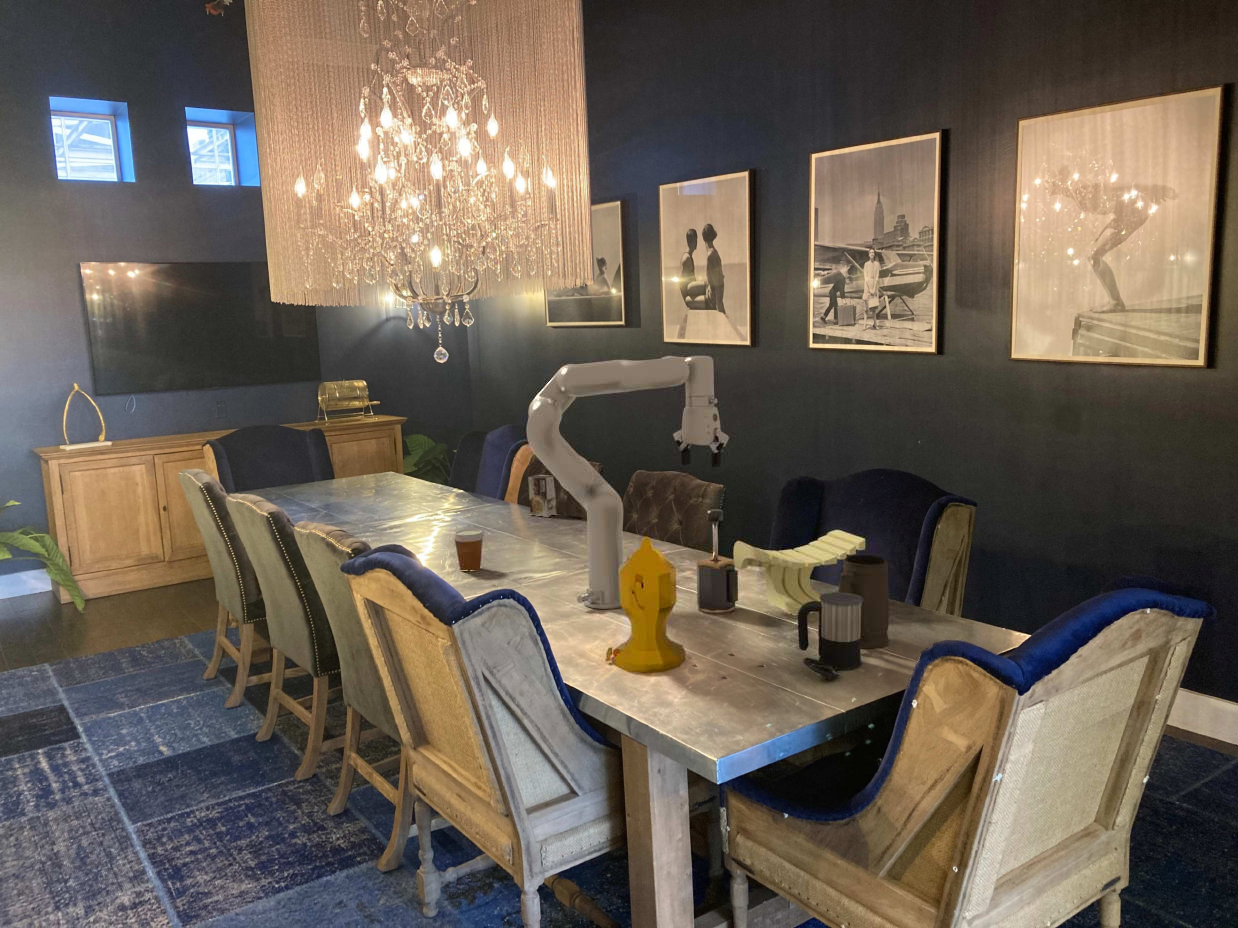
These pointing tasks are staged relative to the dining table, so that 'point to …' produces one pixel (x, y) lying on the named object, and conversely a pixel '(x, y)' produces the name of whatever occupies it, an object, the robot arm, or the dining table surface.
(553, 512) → the coffee box
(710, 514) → the plunger
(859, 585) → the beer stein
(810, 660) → the milk frother
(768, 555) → the slatted curved stool
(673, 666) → the yellow tall piece
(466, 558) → the glass of beer
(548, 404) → the robot arm
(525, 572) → the dining table surface
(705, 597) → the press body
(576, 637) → the dining table surface
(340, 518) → the dining table surface
